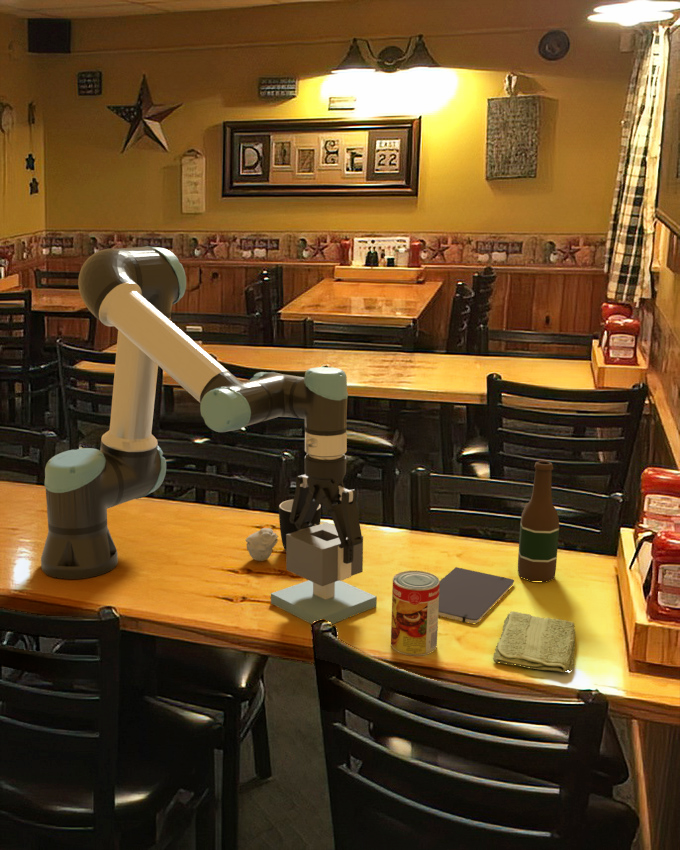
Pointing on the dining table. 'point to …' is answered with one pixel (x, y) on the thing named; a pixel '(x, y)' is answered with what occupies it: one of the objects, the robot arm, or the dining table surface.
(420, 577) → the canned food
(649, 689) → the dining table surface
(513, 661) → the washcloth
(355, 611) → the base
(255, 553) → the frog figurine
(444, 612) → the notebook
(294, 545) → the slotted gray box
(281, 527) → the mug
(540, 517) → the beer bottle
